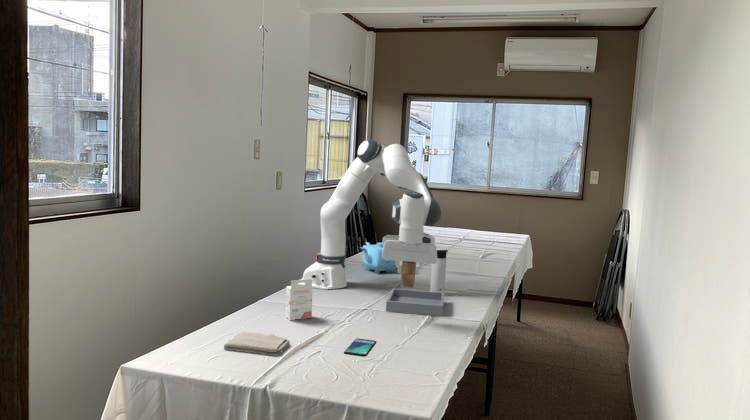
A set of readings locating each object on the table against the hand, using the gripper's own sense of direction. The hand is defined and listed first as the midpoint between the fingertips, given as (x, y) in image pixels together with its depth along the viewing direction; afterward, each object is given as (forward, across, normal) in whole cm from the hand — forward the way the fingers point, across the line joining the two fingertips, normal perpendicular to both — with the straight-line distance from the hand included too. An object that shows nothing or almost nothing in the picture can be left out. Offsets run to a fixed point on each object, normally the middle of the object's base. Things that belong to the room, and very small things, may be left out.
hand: (408, 273), depth 218 cm
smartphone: (+18, -11, -34) cm, 40 cm away
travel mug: (+18, +10, +45) cm, 50 cm away
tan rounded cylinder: (+5, 0, 0) cm, 5 cm away
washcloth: (+19, -42, -42) cm, 63 cm away
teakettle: (+18, -22, +85) cm, 90 cm away
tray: (+18, +2, +21) cm, 28 cm away
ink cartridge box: (+18, -38, -9) cm, 43 cm away
